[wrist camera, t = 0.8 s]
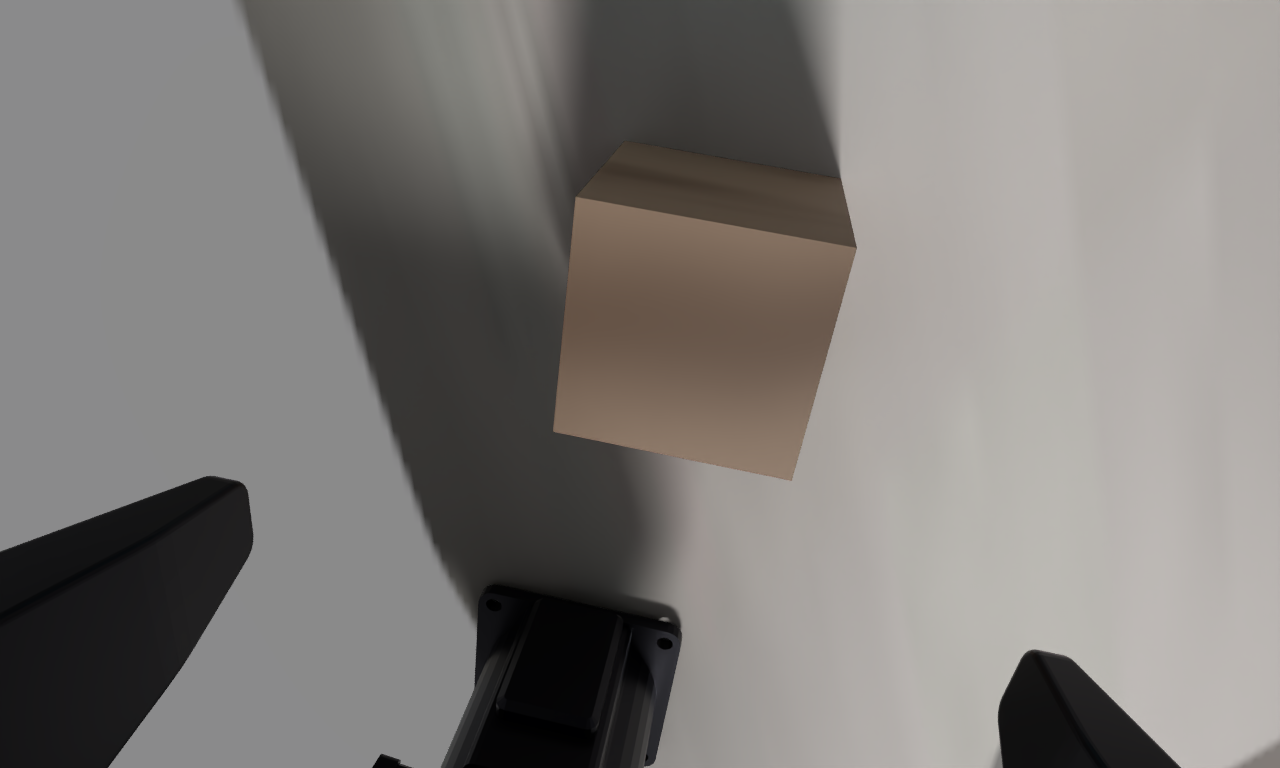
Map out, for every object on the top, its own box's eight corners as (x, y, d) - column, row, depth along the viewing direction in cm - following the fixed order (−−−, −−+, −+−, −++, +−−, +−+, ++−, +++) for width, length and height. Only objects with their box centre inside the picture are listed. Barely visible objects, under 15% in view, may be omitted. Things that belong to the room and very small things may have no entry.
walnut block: (791, 369, 21) (791, 480, 16) (601, 332, 21) (552, 431, 17) (840, 177, 18) (856, 247, 14) (625, 140, 19) (575, 196, 14)
